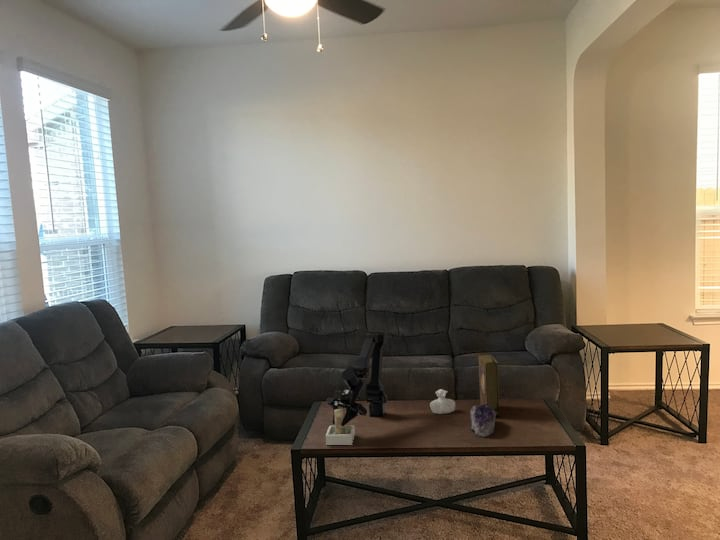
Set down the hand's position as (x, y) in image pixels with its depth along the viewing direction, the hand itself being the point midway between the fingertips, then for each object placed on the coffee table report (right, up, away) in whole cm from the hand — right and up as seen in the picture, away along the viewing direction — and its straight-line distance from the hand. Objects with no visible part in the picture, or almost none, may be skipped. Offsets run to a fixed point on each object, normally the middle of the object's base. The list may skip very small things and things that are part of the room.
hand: (337, 424), depth 221 cm
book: (+69, -2, +26) cm, 74 cm away
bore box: (+1, -7, +2) cm, 7 cm away
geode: (+62, -4, +6) cm, 62 cm away
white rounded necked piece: (+48, -3, +29) cm, 56 cm away
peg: (+1, -7, +2) cm, 7 cm away
